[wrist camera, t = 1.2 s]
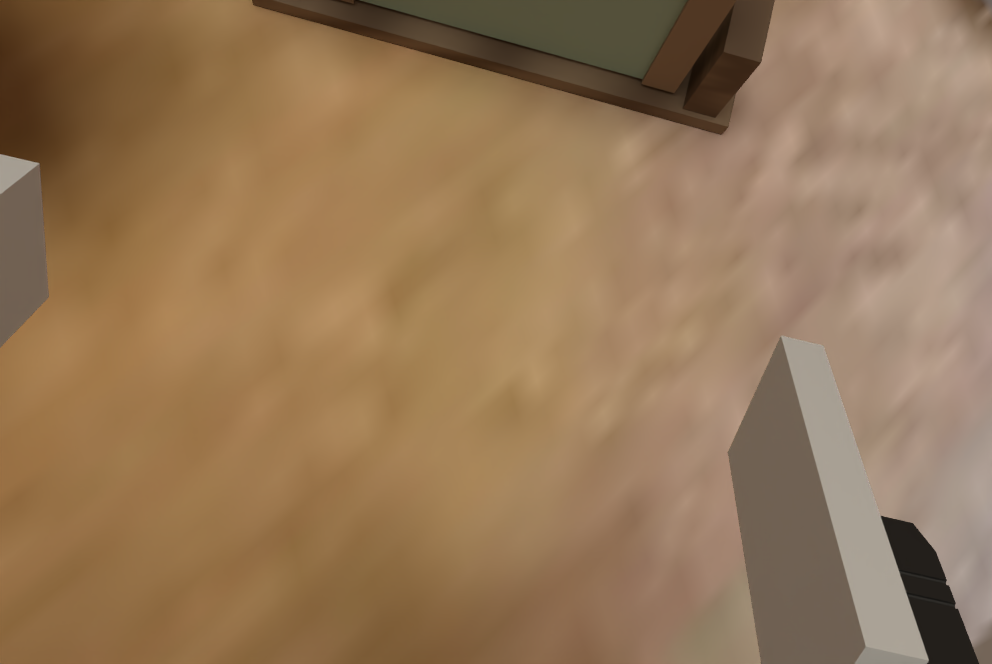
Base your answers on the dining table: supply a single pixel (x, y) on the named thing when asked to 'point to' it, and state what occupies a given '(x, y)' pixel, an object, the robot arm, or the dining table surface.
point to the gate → (591, 30)
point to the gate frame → (693, 103)
